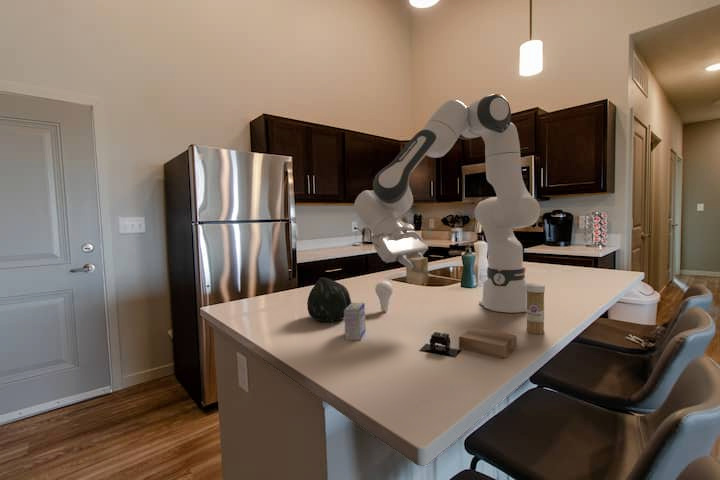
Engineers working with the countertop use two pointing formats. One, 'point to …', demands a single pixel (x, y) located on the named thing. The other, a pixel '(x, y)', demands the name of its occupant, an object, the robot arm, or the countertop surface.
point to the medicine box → (354, 321)
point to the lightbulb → (384, 294)
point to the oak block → (418, 271)
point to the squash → (328, 300)
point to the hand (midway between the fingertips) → (418, 267)
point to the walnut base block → (488, 342)
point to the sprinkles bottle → (535, 308)
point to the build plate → (438, 349)
